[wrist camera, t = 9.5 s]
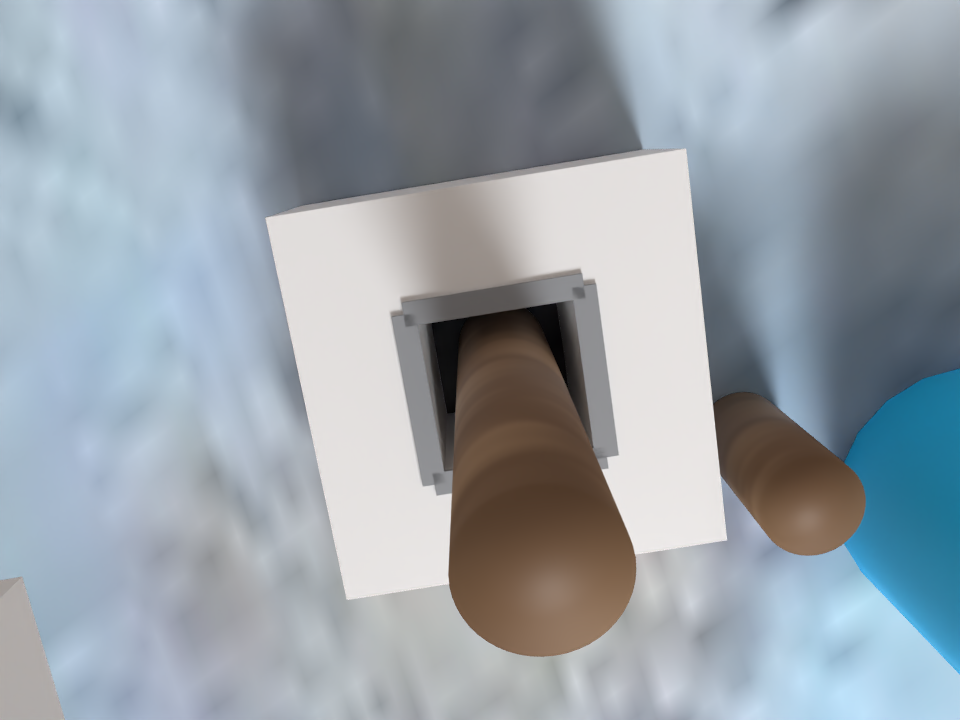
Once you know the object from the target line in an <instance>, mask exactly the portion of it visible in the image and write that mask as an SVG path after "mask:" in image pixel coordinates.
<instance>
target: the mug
mask: <svg viewBox="0 0 960 720" xmlns="http://www.w3.org/2000/svg"><path fill="white" fill-rule="evenodd" d="M844 463H845V464H846V465H848V466H849V467H850V468H851V469H852V470H853V471H854V472H855V473H856V474H857V476H858V477H859V479H860V480H861V482H862V485H863V487H864V491H865V497H866V507H865V512H864V516H863V519H862V521H861V523H860V525H859V527H858V529H857V530H856V532H855V533H854V534H853V535H852V536H851V537H850V538H849V539H848V540H847V541H846V542H845V543H844V544H845V546H846V548H847V549H848V551H849V552H850V554H851V556H852V557H853V559H854V560H855V562H856V564H857V565H858V567H859V568H860V570H861V572H862V573H863V574H864V575H865V576H866V577H867V578H868V579H869V580H870V581H871V582H872V583H873V584H874V585H875V587H876V588H877V589H878V590H879V591H880V592H881V593H882V594H883V595H884V596H885V597H886V598H887V599H888V600H889V601H890V602H891V603H892V604H893V605H894V606H895V607H896V608H897V609H898V611H899V612H900V613H901V614H902V615H903V616H904V617H905V618H906V619H907V620H908V621H909V622H910V623H911V624H912V625H913V626H914V627H915V628H916V629H917V630H918V631H919V632H920V633H921V635H922V636H923V637H924V638H925V639H926V640H927V641H928V642H929V643H930V644H931V645H932V646H933V647H934V648H935V649H936V650H937V651H938V652H939V653H940V654H941V655H942V656H943V657H944V659H945V660H946V661H947V662H948V663H949V664H950V665H951V666H952V667H953V668H954V669H955V670H956V671H957V672H958V673H959V674H960V369H956V370H952V371H949V372H945V373H942V374H938V375H934V376H931V377H927V378H923V379H922V380H920V381H918V382H917V383H915V384H914V385H912V386H910V387H909V388H907V389H905V390H904V391H902V392H901V393H899V394H897V395H896V396H894V397H893V398H891V399H889V400H888V401H886V402H885V403H884V405H883V406H882V407H881V408H880V409H879V410H878V411H877V412H876V413H875V415H874V416H873V417H872V418H871V419H870V420H869V421H868V422H867V423H866V424H865V426H864V427H863V428H862V429H861V430H860V431H859V432H858V434H857V436H856V438H855V440H854V443H853V445H852V447H851V449H850V451H849V453H848V455H847V457H846V459H845V461H844Z"/></svg>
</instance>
